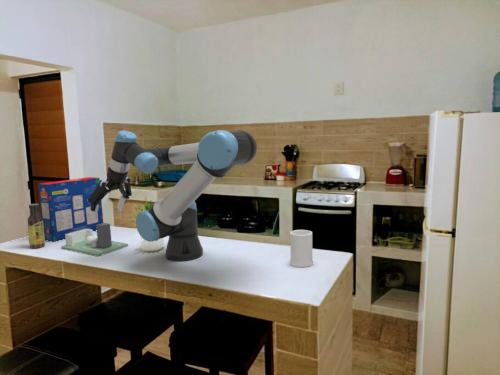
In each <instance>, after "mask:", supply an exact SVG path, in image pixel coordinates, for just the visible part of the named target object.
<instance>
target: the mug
mask: <svg viewBox="0 0 500 375" xmlns="http://www.w3.org/2000/svg"><path fill="white" fill-rule="evenodd" d="M289 236H290V237H289V239H290V244H289V245H290V260H289V261H290V262H289V264H290V265H291V266H292V267H296V268H309V267H312V266H313V265H314V260H313V231H311V230H307V229H295V230H291V231H290V232H289Z"/></svg>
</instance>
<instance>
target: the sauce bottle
mask: <svg viewBox="0 0 500 375" xmlns="http://www.w3.org/2000/svg"><path fill="white" fill-rule="evenodd" d="M28 208H29V216H28V218H27V230H28V231H27V232H28V242H29V248H30V249H38V248H39V249H40V248H43V247H45V245H46V240H45V236H44V225H43V220H42V214H41V211H40V203H31V204H28Z"/></svg>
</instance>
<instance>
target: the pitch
mask: <svg viewBox="0 0 500 375" xmlns="http://www.w3.org/2000/svg"><path fill="white" fill-rule="evenodd" d="M88 236H93V237H94V232H93V230H92V229H83V230H80V231H76V232H72V233H68V234H65V238H66V239H65V245H61V247H60V249H61V248H62V249H61V250H65V249H67V250H66V251H70V250H72V251H71V252H75V251H77V252H76V253H79V252H82V253H81V254H84V253H86V254H85V255H89V254H90V255H89V256H94V255H96V256H95V257H100V256H99V255H101V256H103V255H102V254H104V255H106V254H105V253H107V254H109V253H112V252H115V251H117V250H120V249H123V248H127V247H129V243H125V242H119V241H114V240H111V242H112V246H110V247H107V248H100V247H92V245H89V244H87V243H86V238H87V237H88ZM96 239H97V238H96V237H95V240H96ZM111 251H112V252H111ZM108 252H109V253H108Z"/></svg>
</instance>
